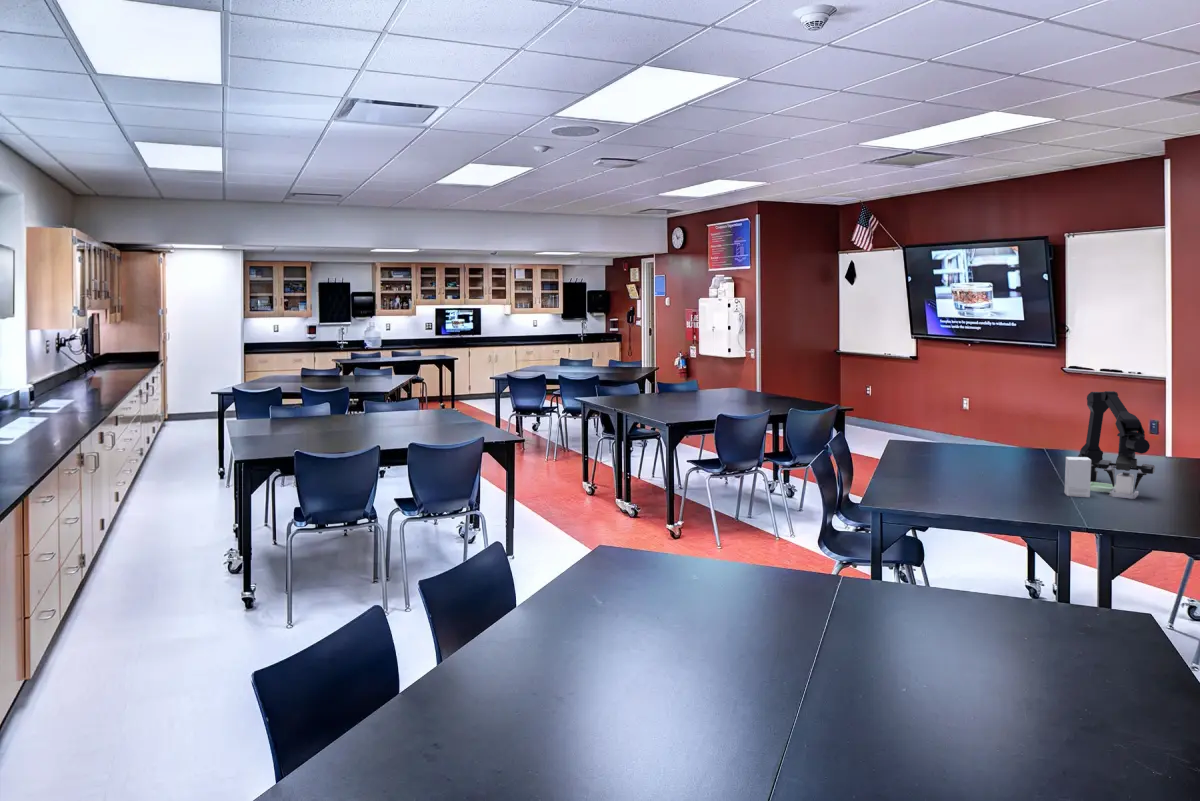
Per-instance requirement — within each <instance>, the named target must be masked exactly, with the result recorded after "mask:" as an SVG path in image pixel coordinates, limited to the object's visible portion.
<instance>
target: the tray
mask: <svg viewBox="0 0 1200 801" xmlns="http://www.w3.org/2000/svg"><path fill="white" fill-rule="evenodd" d="M1113 489H1116V483H1115V486H1114V487H1113V486H1112V483H1106V482H1098V481H1095V482H1090V492H1091V491H1092V492H1098V493H1100V492H1101V493H1109V492H1110V491H1112V490H1113Z"/></svg>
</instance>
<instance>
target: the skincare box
mask: <svg viewBox="0 0 1200 801" xmlns="http://www.w3.org/2000/svg"><path fill="white" fill-rule="evenodd" d="M1091 461H1092V460H1091V459H1089V458H1088V457H1078V456H1065V469H1064V470H1065V472H1064V494H1065V495H1066V496H1067V497H1077V498H1079V497H1081V498H1091V491H1090V483H1091V482H1090V480H1091Z"/></svg>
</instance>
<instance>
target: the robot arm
mask: <svg viewBox="0 0 1200 801" xmlns="http://www.w3.org/2000/svg"><path fill="white" fill-rule="evenodd" d="M1086 402H1087V407H1088V409H1089V411H1090V412H1089V413H1090V414H1089V419H1088V426H1087V433H1086V434H1087V435H1086V440H1085V444H1084V445H1083V446H1082V447H1081V448H1080V451H1079V453H1078V456H1077V457H1088V458H1089V459H1091V460H1092V461H1091V480H1090V483H1091V482H1097V481H1098V473H1099V472H1098V470H1097V469H1101V470H1103V471H1104V472H1106V473H1107V474H1108V476H1109V479H1110V482H1111V484H1112V486H1113V487H1114V486H1115V484H1116V476H1115V471H1116V470H1117V471H1124V472H1129V471H1131V470H1133V471H1137V473H1136V479H1135V482H1134V483H1135V484H1134V490H1135V491H1137V489H1138V486H1139V484H1140V482H1141V480H1142V479H1143V477H1144V476H1147V475H1148V474H1149V475H1153V474H1154V473H1155V470H1156V466H1155V465H1154V464H1147V463H1146V464H1145V463H1142V465H1138V459H1137V458H1136V453H1137V454H1141V455H1142V454H1146V453H1147V452H1148V451H1149V449H1151V448H1150V446H1151V445H1150V442H1149V441H1148V440H1146V435H1145V430H1144V428H1143V426H1142V423H1141V420H1140V419H1139V417H1137V416H1136V415H1135V414H1133V413H1131V412H1129V410H1128V409H1127V408H1126V406H1125V405H1124V403H1123V401H1122V400H1121V399H1120V397H1119V394H1118V391H1117V392H1116V391H1114V390H1113V391H1111V390H1110V391H1109V390H1108V391H1107V390H1106V391H1090V393H1088V394H1087V395H1086ZM1108 409H1109V410H1110V411H1111V413H1112V414H1113V416H1114V418H1115V419H1116V420H1115V423H1114V424H1115V426H1116V430H1118V433H1117V435H1116V437H1119V438H1118V451H1117V452H1118V453H1117V454H1118V455H1117V456H1116V460H1115V462H1112V460H1107V459H1104V457H1103V456H1104V455H1103V454H1104V452H1103V450H1102V449H1101V448H1100V442H1101V441H1100V439H1101V434H1102V426H1103V420H1104V414H1105V413H1106V412H1107V410H1108Z"/></svg>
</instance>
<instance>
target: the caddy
mask: <svg viewBox="0 0 1200 801" xmlns="http://www.w3.org/2000/svg"><path fill="white" fill-rule="evenodd" d="M1134 481H1135V474H1131V473H1130V472H1129V471H1123V472H1122V473H1118V474H1117V475H1116V476H1115V484H1116V491H1115V493H1122V494H1131V495H1132V494H1133V493H1134V486H1135V484H1134V483H1135V482H1134Z"/></svg>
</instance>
